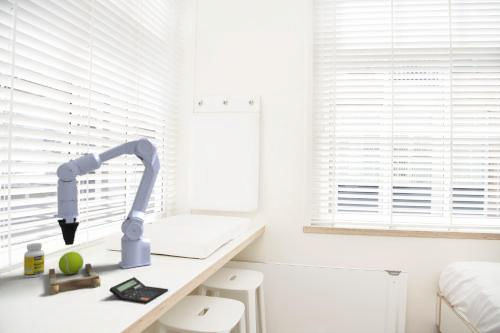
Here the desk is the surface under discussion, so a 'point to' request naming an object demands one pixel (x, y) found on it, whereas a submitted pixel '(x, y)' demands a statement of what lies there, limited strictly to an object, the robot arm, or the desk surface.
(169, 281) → the desk surface
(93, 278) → the level stand
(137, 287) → the calculator
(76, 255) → the tennis ball
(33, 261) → the supplement bottle
